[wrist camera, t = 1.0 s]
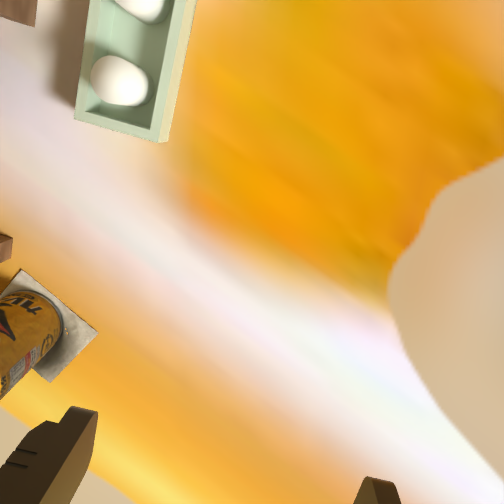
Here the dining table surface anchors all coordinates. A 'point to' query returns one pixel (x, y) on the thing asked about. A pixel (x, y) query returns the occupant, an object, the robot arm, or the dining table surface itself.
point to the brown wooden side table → (24, 11)
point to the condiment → (36, 332)
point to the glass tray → (136, 50)
